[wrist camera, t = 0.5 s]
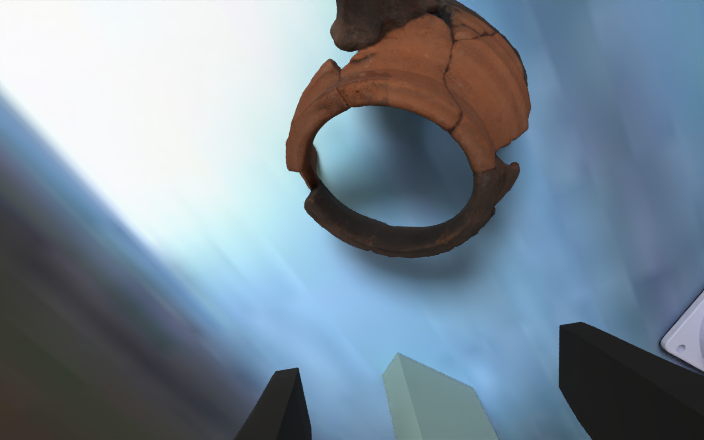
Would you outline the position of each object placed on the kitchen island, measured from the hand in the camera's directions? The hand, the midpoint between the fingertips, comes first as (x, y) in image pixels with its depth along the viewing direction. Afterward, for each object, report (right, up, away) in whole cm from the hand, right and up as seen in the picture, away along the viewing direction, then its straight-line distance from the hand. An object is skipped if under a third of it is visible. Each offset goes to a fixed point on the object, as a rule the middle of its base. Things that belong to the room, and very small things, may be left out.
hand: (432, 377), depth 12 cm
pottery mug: (0, +10, +7) cm, 13 cm away
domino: (+2, -5, +12) cm, 13 cm away
